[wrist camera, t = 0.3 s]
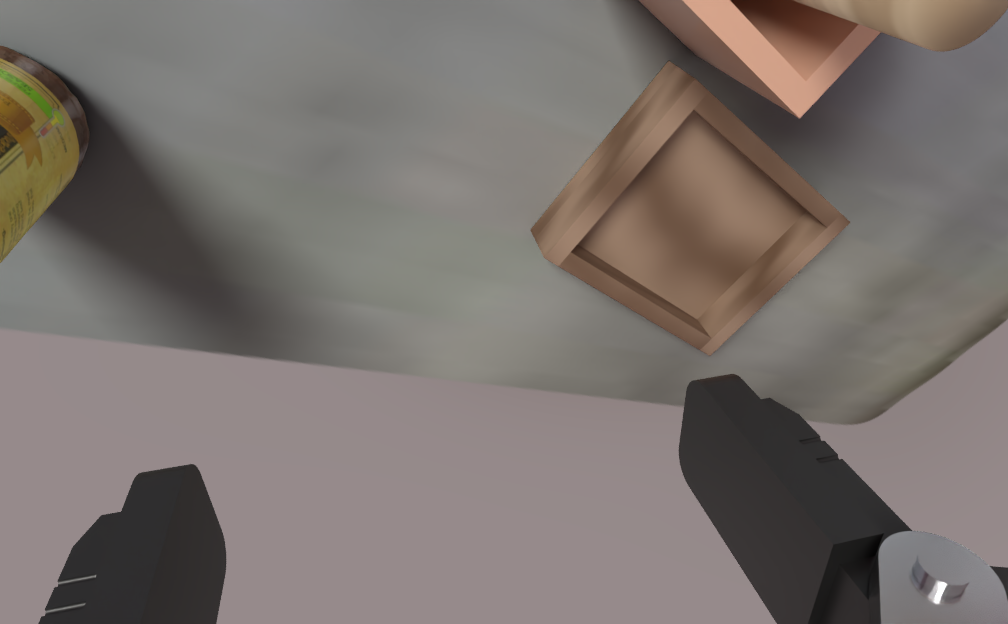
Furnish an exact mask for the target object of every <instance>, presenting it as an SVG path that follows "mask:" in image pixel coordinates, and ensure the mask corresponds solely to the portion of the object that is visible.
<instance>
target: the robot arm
mask: <svg viewBox="0 0 1008 624" xmlns="http://www.w3.org/2000/svg"><path fill="white" fill-rule="evenodd" d="M679 459H680V465H681V469H682V472H683V475H684V477H685V480H686V482H687V484H688V485H689V487H690V489H691V490H692V492H693V493H694V495H695V496H696V498H697V499H698V501H699V503H700V504H701V506H702V507H703V509H704V510H705V512H706V514H707V515H708V516H709V518H710V520H711V521H712V523H713V525H714V526H715V527H716V529H717V531H718V532H719V534H720V535H721V537H722V538H723V540H724V542H725V543H726V545H727V546H728V548H729V549H730V551H731V553H732V554H733V556H734V557H735V559H736V560H737V562H738V564H739V565H740V567H741V568H742V570H743V571H744V573H745V574H746V576H747V578H748V579H749V581H750V582H751V584H752V585H753V587H754V588H755V590H756V592H757V593H758V595H759V596H760V598H761V599H762V601H763V603H764V604H765V606H766V607H767V609H768V610H769V612H770V613H771V615H772V617H773V618H774V620H775V621H776V623H777V624H1008V568H1004V567H993V566H989V565H988V564H987V563H986V562H985V561H984V560H982V559H981V558H980V557H978V556H977V555H976V554H975V553H973V552H972V551H970V550H969V549H967V548H966V547H964V546H962V545H960V544H958V543H956V542H954V541H952V540H950V539H947V538H945V537H942V536H939V535H935V534H932V533H927V532H919V531H912V530H911V529H910V528H909V527H908V526H907V525H906V524H905V523H904V522H903V521H902V520H901V519H900V518H899V517H898V516H897V515H896V514H895V513H894V512H893V511H892V510H891V509H890V508H889V507H888V506H887V505H886V504H885V502H884V501H882V499H881V498H880V497H879V496H878V495H877V494H876V493H875V492H874V491H873V490H872V489H871V488H870V487H869V486H868V485H867V484H866V483H865V482H864V481H863V480H862V479H861V478H860V477H859V476H858V475H857V474H856V473H855V472H854V471H853V470H852V469H851V468H850V467H849V466H848V464H847V463H846V462H845V461H844V460H843V459H840V460H839V459H838V454H837V453H836V452H835V451H834V450H833V449H832V448H831V447H830V446H829V445H828V444H827V443H826V442H825V441H821V439H820V436H819V435H818V434H817V433H816V432H815V431H814V430H813V429H812V428H811V426H810V425H809V424H808V423H807V422H806V421H805V420H804V419H803V418H802V417H801V416H800V415H799V414H797V413H795V412H793V411H792V410H790V409H788V408H787V407H785V406H783V405H781V404H780V403H778V402H776V401H774V400H773V399H771V398H766V399H760V398H759V397H758V396H757V395H756V394H755V393H754V391H753V390H752V389H751V388H750V387H749V386H748V385H747V384H746V383H745V382H744V381H743V380H742V379H741V378H740V377H739V376H737V375H735V374H729V375H723V376H717V377H712V378H706V379H700V380H694V381H691V382H690V383H689V385H688V387H687V391H686V398H685V405H684V413H683V421H682V429H681V436H680V444H679ZM225 572H226V548H225V541H224V536H223V533H222V530H221V527H220V525H219V522H218V519H217V516H216V514H215V511H214V508H213V506H212V503H211V501H210V498H209V495H208V492H207V490H206V487H205V484H204V482H203V479H202V476H201V474H200V471H199V470H198V468H197V467H196V466H195V465H193V464H190V465H184V466H178V467H172V468H166V469H160V470H154V471H149V472H142V473H139V474H138V475H137V476H136V477H135V479H134V481H133V483H132V485H131V488H130V490H129V493H128V495H127V498H126V501H125V503H124V506H123V508H122V511H121V512H117V513H112V514H106V515H102V516H100V517H99V519H98V520H97V521H96V522H95V523H94V524H93V525H92V526H91V527H90V528H89V530H88V531H87V532H86V533H85V534H84V535H83V536H82V537H81V538H80V540H79V541H78V542H77V543H76V544H75V545H74V546H73V548H72V550H71V553H70V554H69V557H68V559H67V561H66V564H65V566H64V568H63V570H62V572H61V575H60V577H59V579H58V587H55V588H54V590H53V592H52V595H51V597H50V599H49V601H48V604H47V606H46V608H45V611H46V614H45V616H43V617H41V619H40V622H39V624H216V622H217V615H218V611H219V605H220V600H221V595H222V589H223V584H224V578H225Z"/></svg>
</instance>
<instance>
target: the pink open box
mask: <svg viewBox="0 0 1008 624" xmlns="http://www.w3.org/2000/svg"><path fill="white" fill-rule="evenodd" d="M639 1H640V2H641V3H642V4H643V5H644V6H645V7H646V8H647V9H648V10H649V11H650V12H651V13H652V14H653V15H654V16H655V17H656V18H657V19H658V20H659V21H660V22H662V23H663V24H664V25H665V26H666V27H667V28H668V29H669V30H670V31H671V32H672V33H673V34H674V35H675V36H676V37H677V38H678V39H679V40H680V41H681V42H682V43H683V44H685V45H686V46H687V47H688V48H689V49H690V50H691V51H692V52H693V53H694V54H695V55H696V56H698V57H699V58H701V59H703V60H704V61H706V62H708V63H709V64H711V65H713V66H714V67H716V68H717V69H719V70H721V71H722V72H724V73H726V74H727V75H729V76H731V77H732V78H734V79H736V80H737V81H739V82H740V83H742V84H744V85H745V86H747V87H749V88H750V89H752V90H754V91H755V92H757V93H758V94H760V95H762V96H763V97H765V98H767V99H768V100H770V101H772V102H773V103H775V104H777V105H778V106H780V107H781V108H783V109H785V110H786V111H788V112H790V113H791V114H793V115H795V116H796V117H798V118H801V117H802V116H803V115H804V113H805V112H806V111H807V110H808V109H809V108H810V107H811V106H812V105H813V104H814V103H815V102H816V101H817V100H818V99H819V98H820V96H821V95H822V94H823V93H824V92H825V91H826V90H827V89H828V88H829V87H830V86H831V85H832V84H833V83H834V82H835V81H836V79H837V78H838V77H839V76H840V75H841V74H842V73H843V72H844V71H845V70H846V69H847V68H848V67H849V66H850V65H851V63H852V62H853V61H854V60H855V59H856V58H857V57H858V56H859V55H860V54H861V53H862V52H863V51H864V50H865V49H866V48H867V46H868V45H869V44H870V43H871V42H872V41H873V40H874V39H875V38H876V37H877V36H878V35H879V34H880V33H881V32H879V31H876V30H874V29H871V28H868V27H865V26H863V25H860V24H857V23H854V22H851V21H849V20H846V19H843V18H840V17H838V16H835V15H832V14H829V13H826V12H824V11H821V10H818V9H815V8H813V7H810V6H807V5H804V4H801V3H799V2H796V1H793V0H639Z"/></svg>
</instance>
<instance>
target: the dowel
mask: <svg viewBox="0 0 1008 624" xmlns="http://www.w3.org/2000/svg"><path fill="white" fill-rule="evenodd" d="M793 1H796V2H799V3H801V4H804V5H807V6H810V7H813V8H815V9H818V10H821V11H824V12H826V13H829V14H832V15H835V16H838V17H840V18H843V19H846V20H849V21H851V22H854V23H857V24H860V25H863V26H865V27H868V28H871V29H874V30H876V31H879V32H882V33H885V34H888V35H890V36H893V37H896V38H899V39H901V40H904V41H907V42H910V43H913V44H915V45H918V46H921V47H924V48H926V49H929V50H933V51H950V50H954V49H957V48H960V47H962V46H965V45H967V44H969V43H971V42H972V41H974V40H975V39H977V38H978V37H980V36H981V35H982V34H984V33H985V32H986V31H987V30H988V29H990V28H991V27H992V26H993V25H994V24H995V23H996V22H997V21H998V20H999V19H1000V17H1001V16H1002V15H1003V14H1004V12H1005V11H1006V10H1007V9H1008V0H793Z"/></svg>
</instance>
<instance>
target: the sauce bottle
mask: <svg viewBox="0 0 1008 624" xmlns="http://www.w3.org/2000/svg"><path fill="white" fill-rule="evenodd" d="M89 138H90V133H89V128H88V125H87V121H86V115H85V112H84V110H83V108H82V106H81V105H80V103H79V101H78V99H77V98H76V96H74V95H73V94H72V93H71V92H70V91H69V89H68V87H67V86H66V85H65V84H64V83H63V81H62V80H61V79H60V78H59V77H58V76H57V75H56V74H54V73H53V72H51V71H50V70H48V69H46V68H45V67H43V66H42V65H40V64H38V63H37V62H35V61H33V60H31V59H29V58H27V57H25V56H23V55H21V54H19V53H18V52H16V51H14V50H12V49H9V48H7V47H4V46H0V263H1V262H2V261H3V260H4V258H5V257H6V256H7V255H8V254H9V253H10V251H11V250H12V249H13V248H14V247H15V245H16V244H17V243H18V242H19V241H20V239H21V238H22V237H23V236H24V235H25V234H26V232H27V231H28V230H29V229H30V228H31V227H32V226H33V225H34V223H35V222H36V221H37V220H38V219H39V218H40V216H41V215H42V214H43V213H44V212H45V211H46V209H47V208H48V207H49V206H50V205H51V204H52V203H53V201H54V200H55V199H56V198H57V197H58V196H59V195H60V193H61V192H62V191H63V190H64V189H65V188H66V186H67V185H68V184H69V182H70V181H71V180H72V179H73V177H74V174H75V172H76V171H77V170H78V169H79V168H80V167H81V165H82V163H83V159H84V155H85V153H86V150H87V147H88V143H89Z"/></svg>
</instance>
